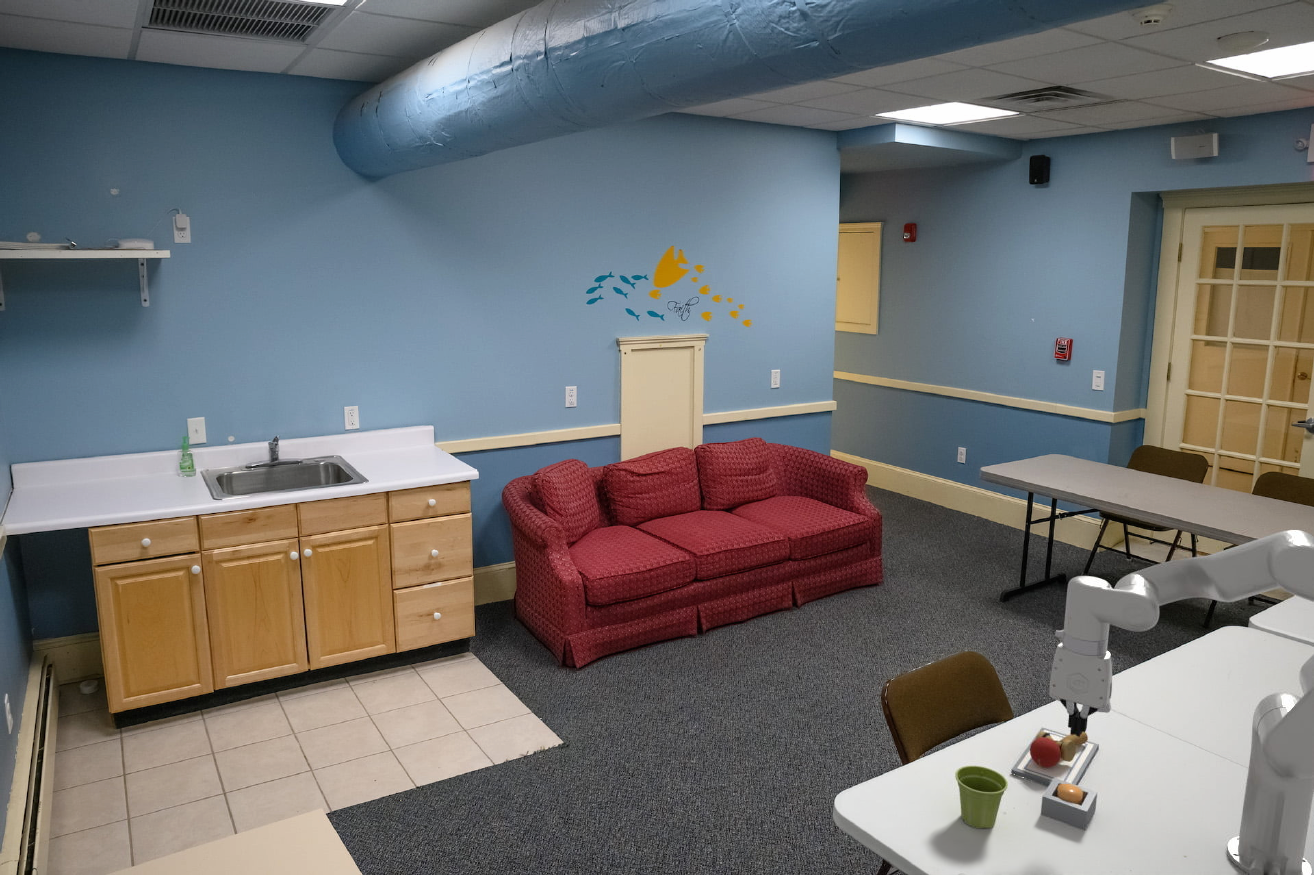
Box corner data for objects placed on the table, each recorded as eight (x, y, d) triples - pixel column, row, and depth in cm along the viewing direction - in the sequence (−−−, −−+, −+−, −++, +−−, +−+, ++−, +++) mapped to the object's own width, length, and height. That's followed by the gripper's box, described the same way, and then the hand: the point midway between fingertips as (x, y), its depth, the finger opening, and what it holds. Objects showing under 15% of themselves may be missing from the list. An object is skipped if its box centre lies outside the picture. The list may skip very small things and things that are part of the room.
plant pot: (963, 799, 179) (966, 759, 178) (1011, 817, 173) (1014, 776, 172) (944, 821, 172) (947, 780, 171) (994, 841, 166) (997, 799, 165)
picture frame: (1072, 794, 181) (1072, 789, 181) (1011, 773, 188) (1011, 768, 188) (1098, 748, 198) (1099, 743, 198) (1041, 731, 205) (1042, 726, 205)
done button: (1078, 813, 172) (1079, 799, 171) (1053, 805, 174) (1055, 791, 174) (1084, 803, 175) (1085, 789, 174) (1060, 794, 178) (1061, 781, 177)
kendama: (1059, 739, 202) (1016, 756, 191) (1068, 715, 200) (1025, 730, 189) (1091, 760, 196) (1049, 778, 185) (1101, 735, 194) (1059, 752, 183)
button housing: (1085, 830, 169) (1087, 811, 169) (1040, 814, 174) (1042, 796, 174) (1095, 810, 176) (1097, 792, 175) (1052, 795, 180) (1054, 777, 180)
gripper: (1037, 639, 170) (1030, 728, 173) (1124, 660, 161) (1115, 754, 164) (1048, 626, 176) (1041, 713, 179) (1133, 646, 166) (1124, 737, 170)
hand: (1076, 732), depth 172 cm, fingers closed
